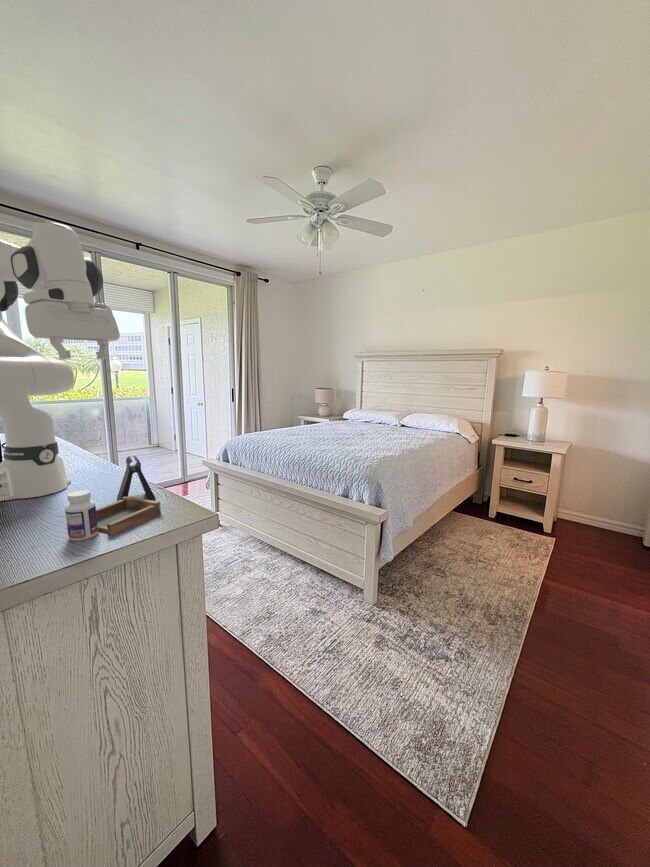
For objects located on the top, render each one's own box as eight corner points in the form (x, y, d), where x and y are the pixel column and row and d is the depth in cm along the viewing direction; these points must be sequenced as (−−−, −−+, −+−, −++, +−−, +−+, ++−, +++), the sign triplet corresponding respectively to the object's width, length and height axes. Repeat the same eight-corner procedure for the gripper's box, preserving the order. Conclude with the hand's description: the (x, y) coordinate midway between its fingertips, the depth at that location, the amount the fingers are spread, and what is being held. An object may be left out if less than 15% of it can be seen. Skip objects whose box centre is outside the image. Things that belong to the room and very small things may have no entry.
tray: (75, 527, 81) (73, 515, 81) (126, 507, 94) (125, 496, 93) (112, 535, 77) (110, 522, 77) (160, 513, 90) (159, 501, 90)
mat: (87, 525, 82) (87, 524, 82) (126, 509, 92) (126, 508, 92) (114, 531, 80) (114, 530, 79) (152, 514, 89) (152, 513, 89)
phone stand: (118, 506, 94) (114, 462, 92) (116, 499, 99) (112, 457, 97) (155, 499, 99) (152, 458, 97) (152, 493, 104) (149, 453, 102)
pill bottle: (91, 528, 81) (87, 487, 79) (103, 534, 78) (98, 492, 76) (64, 537, 77) (58, 493, 75) (74, 544, 74) (69, 499, 72)
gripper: (100, 306, 94) (112, 360, 96) (14, 293, 74) (31, 360, 77) (119, 302, 92) (130, 357, 94) (34, 288, 72) (51, 357, 75)
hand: (85, 358), depth 85 cm, fingers open, 8 cm apart
